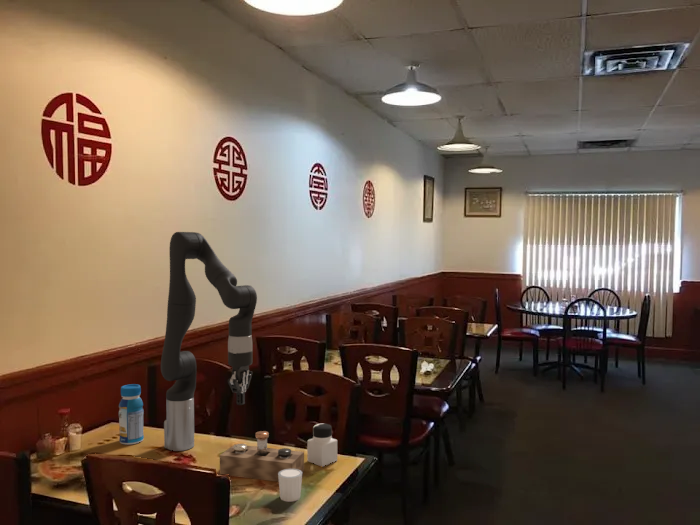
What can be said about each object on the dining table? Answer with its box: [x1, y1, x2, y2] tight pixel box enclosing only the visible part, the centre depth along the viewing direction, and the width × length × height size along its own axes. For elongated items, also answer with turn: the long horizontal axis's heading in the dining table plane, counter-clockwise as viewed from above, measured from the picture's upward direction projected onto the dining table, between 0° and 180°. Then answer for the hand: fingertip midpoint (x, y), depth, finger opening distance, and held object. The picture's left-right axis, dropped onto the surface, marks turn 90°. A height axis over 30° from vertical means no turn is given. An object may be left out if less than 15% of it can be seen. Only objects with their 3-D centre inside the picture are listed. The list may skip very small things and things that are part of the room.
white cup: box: [278, 469, 303, 503], centre depth 167 cm, size 7×7×7 cm
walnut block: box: [219, 444, 305, 483], centre depth 185 cm, size 24×10×6 cm, turn 74°
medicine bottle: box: [306, 423, 338, 468], centre depth 194 cm, size 7×7×12 cm
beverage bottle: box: [118, 383, 145, 446], centre depth 213 cm, size 8×8×20 cm
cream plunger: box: [233, 443, 248, 454], centre depth 187 cm, size 4×4×7 cm
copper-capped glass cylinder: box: [255, 430, 270, 456], centre depth 185 cm, size 4×4×7 cm
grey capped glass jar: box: [278, 447, 292, 459], centre depth 183 cm, size 4×4×7 cm
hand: (240, 404), depth 186 cm, fingers closed
